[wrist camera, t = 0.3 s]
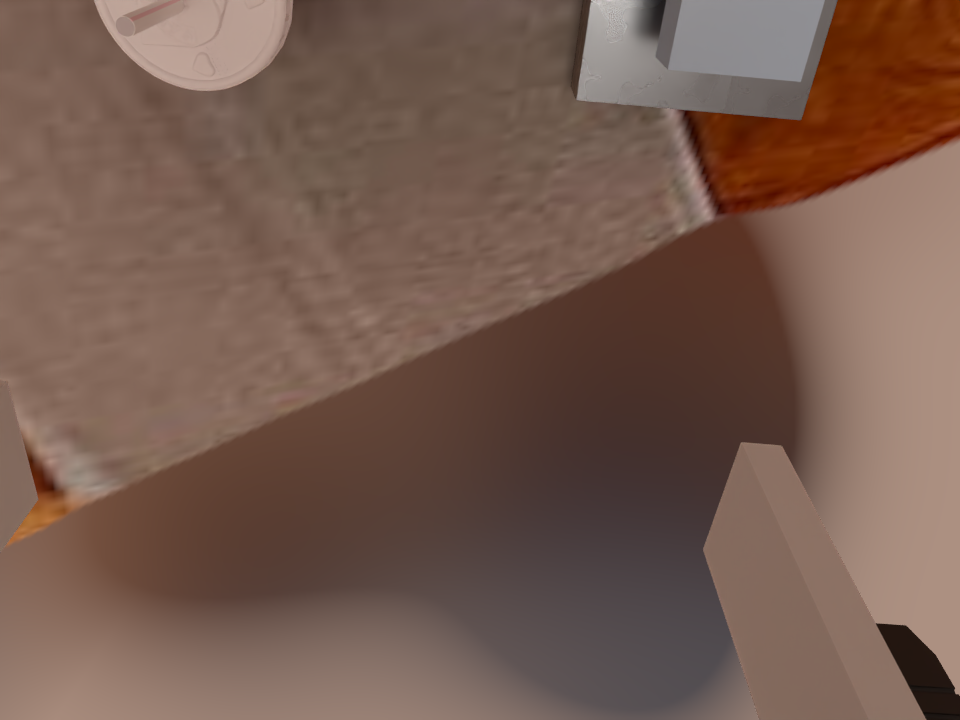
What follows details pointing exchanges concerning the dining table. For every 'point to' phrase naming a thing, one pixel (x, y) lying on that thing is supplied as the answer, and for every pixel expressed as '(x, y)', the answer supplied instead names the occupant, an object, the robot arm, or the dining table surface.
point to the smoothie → (199, 37)
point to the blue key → (739, 37)
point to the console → (646, 81)
